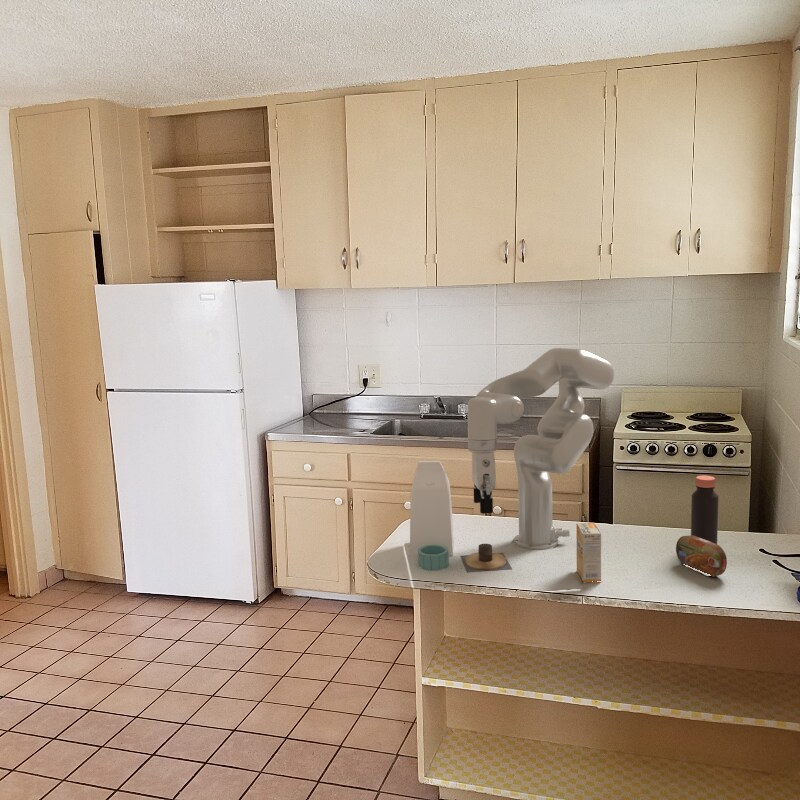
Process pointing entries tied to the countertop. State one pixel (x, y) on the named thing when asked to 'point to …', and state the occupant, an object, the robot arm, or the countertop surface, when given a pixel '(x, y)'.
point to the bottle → (705, 509)
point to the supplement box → (588, 552)
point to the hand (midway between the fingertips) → (483, 507)
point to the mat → (468, 569)
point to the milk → (430, 508)
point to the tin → (701, 555)
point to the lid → (485, 559)
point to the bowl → (433, 557)
